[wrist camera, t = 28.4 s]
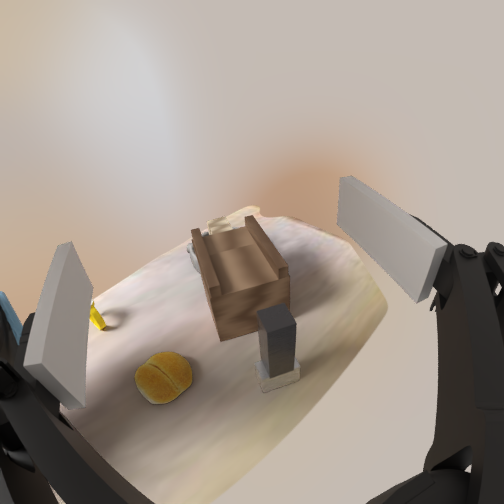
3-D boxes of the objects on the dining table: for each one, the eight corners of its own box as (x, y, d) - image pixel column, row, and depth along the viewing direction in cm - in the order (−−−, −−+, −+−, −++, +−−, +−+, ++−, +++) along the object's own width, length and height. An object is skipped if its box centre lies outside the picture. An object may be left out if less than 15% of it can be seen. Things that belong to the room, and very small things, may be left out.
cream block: (213, 235, 56) (210, 228, 59) (216, 252, 59) (213, 244, 61) (233, 230, 57) (229, 223, 60) (235, 247, 60) (231, 239, 62)
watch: (88, 323, 52) (74, 301, 48) (98, 315, 53) (85, 293, 50) (101, 336, 48) (87, 313, 45) (112, 327, 50) (98, 304, 47)
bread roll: (204, 377, 42) (198, 363, 40) (161, 414, 37) (152, 403, 34) (169, 349, 46) (162, 334, 44) (129, 381, 41) (119, 368, 39)
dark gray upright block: (263, 394, 39) (257, 335, 30) (255, 375, 41) (247, 313, 33) (299, 381, 40) (305, 320, 32) (290, 363, 43) (292, 299, 34)
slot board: (220, 341, 47) (207, 288, 40) (201, 281, 59) (189, 230, 52) (289, 320, 50) (289, 265, 42) (258, 265, 62) (253, 214, 55)
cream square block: (209, 228, 59) (206, 221, 61) (212, 244, 61) (209, 237, 64) (229, 223, 60) (225, 216, 62) (231, 239, 62) (227, 232, 64)
